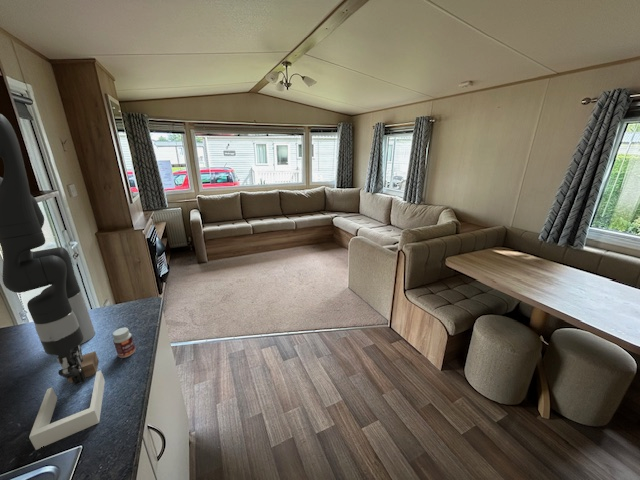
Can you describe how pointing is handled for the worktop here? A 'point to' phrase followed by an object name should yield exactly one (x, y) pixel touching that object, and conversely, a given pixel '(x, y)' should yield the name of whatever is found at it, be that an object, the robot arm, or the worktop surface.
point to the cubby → (67, 426)
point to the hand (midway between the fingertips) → (80, 382)
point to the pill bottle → (123, 342)
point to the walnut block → (88, 365)
